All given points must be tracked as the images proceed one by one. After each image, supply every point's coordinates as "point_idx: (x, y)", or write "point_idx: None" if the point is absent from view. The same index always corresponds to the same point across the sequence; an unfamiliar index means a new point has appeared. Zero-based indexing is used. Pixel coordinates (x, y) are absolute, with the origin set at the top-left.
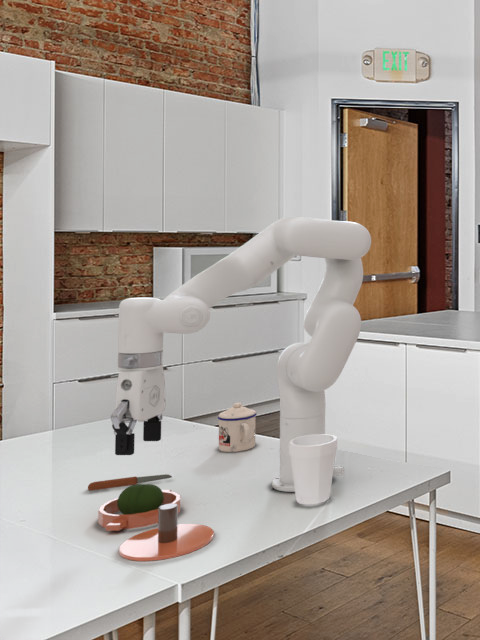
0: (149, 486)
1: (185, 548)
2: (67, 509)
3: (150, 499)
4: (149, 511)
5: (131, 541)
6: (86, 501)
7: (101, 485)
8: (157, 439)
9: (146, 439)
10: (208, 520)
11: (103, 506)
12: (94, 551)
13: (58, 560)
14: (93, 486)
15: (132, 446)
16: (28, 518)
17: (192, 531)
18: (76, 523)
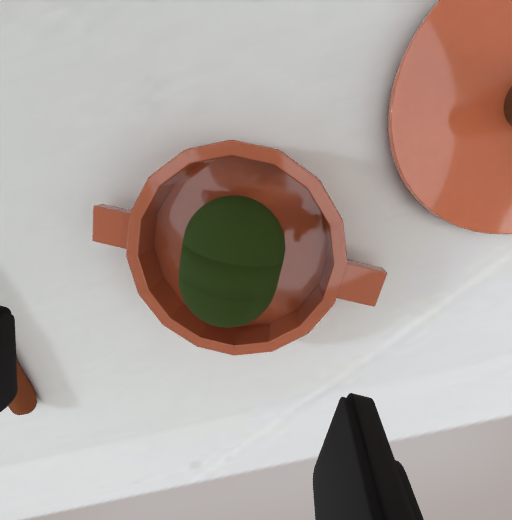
0: (236, 247)
1: None
2: (143, 412)
3: (275, 226)
4: (327, 212)
5: (490, 212)
6: (96, 391)
7: (20, 389)
8: (6, 321)
9: (8, 387)
10: (319, 26)
11: (239, 347)
12: (454, 293)
13: (477, 351)
14: (27, 403)
15: (389, 449)
16: (185, 460)
17: (489, 30)
18: (239, 375)
